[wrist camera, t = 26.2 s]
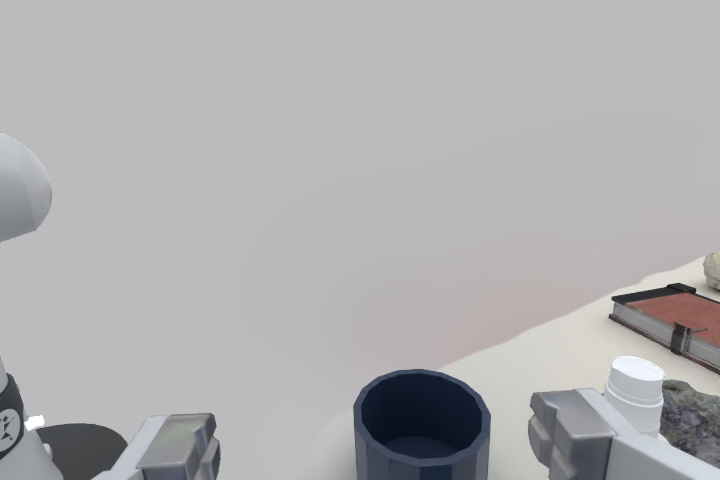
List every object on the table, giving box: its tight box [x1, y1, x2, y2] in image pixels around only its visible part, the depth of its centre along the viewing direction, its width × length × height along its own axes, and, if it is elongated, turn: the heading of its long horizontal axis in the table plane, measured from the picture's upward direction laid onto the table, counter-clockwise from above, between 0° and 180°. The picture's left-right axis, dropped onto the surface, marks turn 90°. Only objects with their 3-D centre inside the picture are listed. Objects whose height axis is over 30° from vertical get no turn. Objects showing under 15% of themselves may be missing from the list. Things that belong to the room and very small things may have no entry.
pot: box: [353, 369, 491, 480], centre depth 40 cm, size 14×14×10 cm
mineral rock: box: [601, 379, 720, 469], centre depth 42 cm, size 13×11×10 cm
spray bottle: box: [603, 356, 670, 445], centre depth 32 cm, size 7×7×18 cm
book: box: [609, 283, 720, 374], centre depth 63 cm, size 26×18×5 cm
